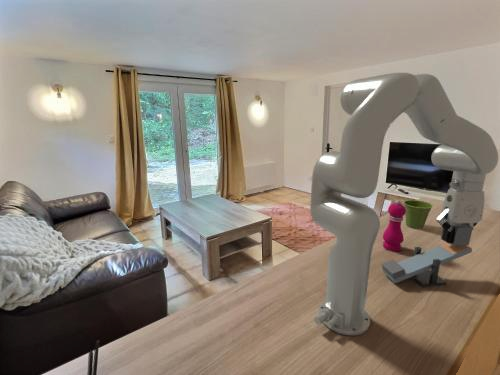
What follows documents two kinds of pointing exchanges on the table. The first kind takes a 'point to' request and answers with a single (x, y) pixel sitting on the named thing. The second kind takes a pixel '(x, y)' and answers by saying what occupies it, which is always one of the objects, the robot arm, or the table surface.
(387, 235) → the pepper mill
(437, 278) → the stand
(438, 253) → the beam
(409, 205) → the plant pot
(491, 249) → the table surface
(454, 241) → the iron block
